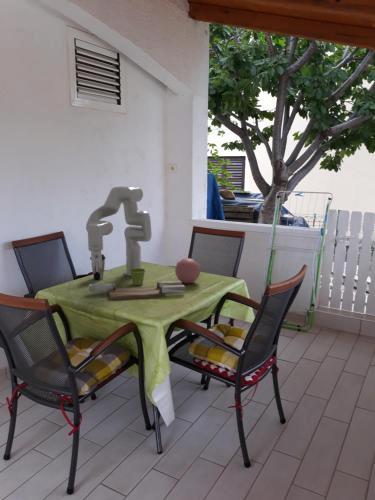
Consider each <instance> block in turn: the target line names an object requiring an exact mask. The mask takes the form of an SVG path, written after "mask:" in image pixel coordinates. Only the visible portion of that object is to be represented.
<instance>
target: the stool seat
mask: <svg viewBox="0 0 375 500" xmlns="http://www.w3.org/2000/svg"><path fill="white" fill-rule="evenodd" d="M185 292H186V286H185V285H184V284H183V282H181V281H180V280H170V281H169V280H168V281H167V280H166V281H158V282H156V285H152V286H149V285H148V286H132V287H131V286H129V287H116V290H108V295H109V300H110V301H119V300H120V301H121V300H130V299H131V300H134V299H136V300H137V299H150V298H151V299H152V298H153V299H155V298H165V297H166V293H185Z"/></svg>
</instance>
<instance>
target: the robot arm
mask: <svg viewBox="0 0 375 500" xmlns="http://www.w3.org/2000/svg"><path fill="white" fill-rule="evenodd" d="M143 196H144V192H143V190H142V188H140V187H135V186H114V187H112V188H111V189H110V190H109V193H108V195H107V197H106V200H105V202H104V204H103V205H101V206H99V207H98V208H96V209H95V210H94V211H92V213H91V214H90V215H89V217H88V220H87V222H86V225H85V230H86V232H87V245H88V246H87V248H88V249H87V250H88V251H89V252H90V257H91V259H92V262H91V263H92V264H91V267H92V266H93V269H94V277H93V281H100V268H101V269H102V254H103V253H102V251H103V250H104V240H103V239H104V238H103V237H104V236H109V235H111V234H112V232H113V231H114V226H113V223H112V222H110V221H108V220H102V219H104V218H107V217H111V216H113V215H116V214H117V213H118V212H119V210H120V208H121V205H122V206H123V211H124V220H125V223H126V224H127V225H129V226H126V227H125V229H124V239H125V258H126V259H125V263H126V265H125V270H124V271H123V274H124V275H125V276H129V277H130V276H131V277H132V275H131V272H130V270H131V269H134V268H142V267H141V266H142V265H141V264H142V262H141V261H142V259H141V258H142V249H141V247H142V246H141V244H140V243H141V242H142V243H145V242H146V243H147V242H150V241H151V239H152V235H153V234H152V225H151V224H152V222H151V216H150V213H149V212H148V211H145V210H139V209H138V202H141V201H142V199H143V198H144V197H143ZM91 259H90V260H91ZM99 267H100V268H99Z"/></svg>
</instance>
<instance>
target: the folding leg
mask: <svg viewBox="0 0 375 500" xmlns="http://www.w3.org/2000/svg"><path fill="white" fill-rule="evenodd" d="M116 288H117V285H116V283H113V282H112V283H111V282H110V283H93V284H92V283H91V284H90V283H89V284H88V291H89V292H103V291H105V292H106V291H109V290H116Z"/></svg>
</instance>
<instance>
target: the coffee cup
mask: <svg viewBox="0 0 375 500" xmlns="http://www.w3.org/2000/svg"><path fill="white" fill-rule="evenodd" d="M101 254H102V269H101V268H100V267H99V268H100V280H103V279H104V274H105V273H104V272H105V263H106V262H105V259H107V258H106V256H105V254H103V253H101ZM89 258H90V259H89V260H90V262H91V263H90V264H91V270H92V275H93V276H92V278H94V269H93V266H92V259H91V256H90V257H89ZM100 280H99V281H100Z"/></svg>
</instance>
